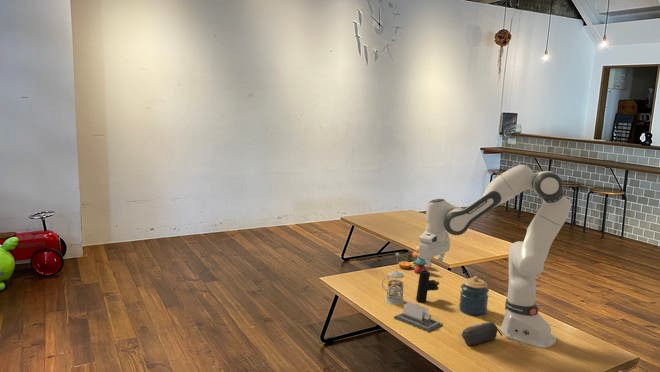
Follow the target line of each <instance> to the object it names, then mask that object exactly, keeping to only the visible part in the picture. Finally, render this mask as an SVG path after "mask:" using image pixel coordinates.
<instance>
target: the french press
mask: <svg viewBox="0 0 660 372" xmlns="http://www.w3.org/2000/svg"><path fill="white" fill-rule="evenodd" d="M395 256H396V259H398V257H400V253H399V252H396V253H395ZM395 269H396V270H393V271H390V272H388V273H387V274H388V275H387V276H385V277H384V278H383V279H382V281H381V282H382V283H381V285H382V288H383V289H384V291H386V298H385V300H384V302H386V304H390V305H396V306H399V305H402V304H403V305H404V304H405V300H404V285H403V284H404V282H403V281H402V280H398V279H404V277H405V274H404V273H403V272H401V271H397V270H398V267H396V268H395ZM390 278H393V279H391V280H389V279H390ZM385 279H387V280H389V281H388V284H387V288H385V286H384V280H385Z"/></svg>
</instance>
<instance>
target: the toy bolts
mask: <svg viewBox="0 0 660 372" xmlns="http://www.w3.org/2000/svg"><path fill="white" fill-rule="evenodd" d="M412 257H414V258H416V259H414V260H413V262H409V261H399V262H398V266H399V268H401V269H405V270H406V269H407V270H408V269H409V270H410V269H411V268H412V266H413V265H415V267H414V270H413V272H414V273H416V274H419V273H420V270H426V271H429V269H428V267H426V261H425V259H421V258H420V257H419V245H418V246H416V248H415V251H413V252H412Z"/></svg>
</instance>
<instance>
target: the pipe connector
mask: <svg viewBox="0 0 660 372" xmlns="http://www.w3.org/2000/svg"><path fill="white" fill-rule="evenodd" d="M430 277H431V272H430V271H429V270H428V271H426V270H420V271H419V274H418V282H417V290H416V291H417V292H416V297H415V300H416V301H417V302H419V303H426V302H427V299H428V297H427V296H428V292H430V291H439V286H440V281H439V280H438V281H437V280H435V279H430Z"/></svg>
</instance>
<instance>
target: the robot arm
mask: <svg viewBox="0 0 660 372" xmlns="http://www.w3.org/2000/svg"><path fill="white" fill-rule="evenodd" d="M527 190H531V191H532V192H534V193H535V195H537V196H539V197H540V198H541V199H542V203H541V206H540V207H539V209H538V211H537V212H536V213H535V215H534V217H533V219H532V220H531V221H530V224H529V225H528V227H527V228H526V234H525V237H524V240H523V241H515V242H513V243H511V245H509V248H508V290H507V298H506V299H505V304H504V306H505V308H504V309H505V312H504V317H503V321H502V324H501V325H500V328H499V330H500V332H501V333H502V334H504V337H505V338H506V339H509V340H512V341H516V342H520V343H521V344H522V343H523V344H527V345H529V346H533V347H537V348H539V349H546V348H547V349H548V348H550V347H552V346H553V345H555V344H556V342H557V337H556V336H555V335H554V334H552V328H551V325H550V324H549V323H548V321H546V319H544V317H543V316H541V314H539V310H540V308H541V306H540V305H538V306H537V304H536V302H535V301H536V291H537V282H536V277H539V276H540V275H541V274H542V273H543V271H544V268H545V263H546V262H545V261H546V260H547V257H548V254H549V251H550V249H551V246H552V244H553V242H554V240H555V238H557V235H558V234H559V232H560V230H561V228H562V227H563V226H564V224H565V222H566V220H567V218H568V216H569V214H570V212H571V209H572V204H571V201H570V200H569V199H568V198H567V197H565V196H564V183H563V180H562V178H561V177H560V175H559V174H557V173H556V172H553V171H550V170H542V171H541V170H540V171H539V170H538V171H533V170H532V169H531V168H530V167H529V166H528V165H526V164H518V165H516V166H513V167H512V168H509V169H507V170H505V171H504V172H501V173H500V174H499V175H497V176H496V177H495V178H494V179H492V180H491V181H490V182H489V183H488V185H487V186H486V188H485V191H484V192H483V193H482V196H480V197H479V198H478V199H476V201H474V202H473V203H471V204H469V205H468V206H467V207H466V208H463V207H460V206H457V205H455V204H452V203H450V202H448V201H447V200H446V199H444V198H437V199H432V200H430V201H429V202H428V203H427V206H426V213H425V220H426V226H425V230H424V232H423V233H422V234H420V236H419V237H418V240H419V241H420V242H419V245H418V246H419V257H420V258H421V259H425V261H426V265H425V267H426V268H431V267H432V262H431V259H432V258H435V257H437V256H438V258H437V262H438V263H443V262H444V257H445V255H446V253H447V252H450V250H451V242H450V241H451V239H450V236H449V234H450V235H451V236H452V235H453V236H461V235H463V234H465V233H467V231H468V229H469V228H470V226H471V224H472V223H474V222H475V221H476V220H478V219H479V218H480V217H483V215H485V214H486V213H488V212H489V211H491V210H492V209H494V208H496V207H497V206H500V205H502V204H503V203H506V202H508V201H510V200H512V199H513V198H515V197H516V196H518V195H519V194H521V193H523V192H525V191H527Z"/></svg>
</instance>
